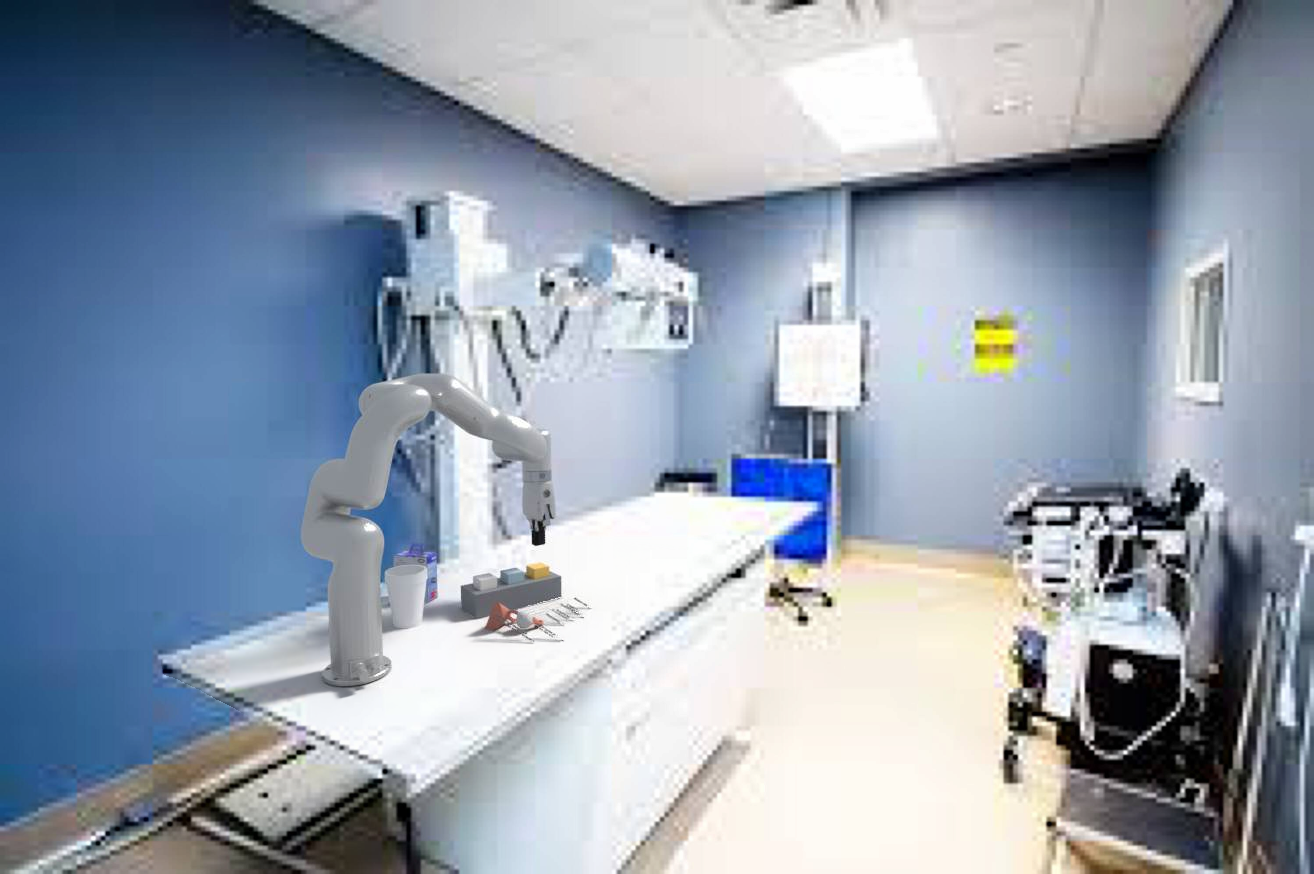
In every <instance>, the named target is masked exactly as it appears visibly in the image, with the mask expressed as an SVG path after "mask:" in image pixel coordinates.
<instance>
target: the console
mask: <svg viewBox="0 0 1314 874" xmlns="http://www.w3.org/2000/svg"><path fill="white" fill-rule="evenodd" d="M558 597H561V598H562V576H561V575H559V574H557V573H555V572H553V571H551V570H549V576H548V577H544V578H539V579H532V578H530V577H528V576H526V572H525V571H524V582H521V583H516V584H511V585H507V584H505V583H503V582H501V581H500V577H497V588H493V589H488V590H484V591H479V590H477V589H475V588H474V587H473V582H472V583H468V584H464V585H463V584H462V585H460V609H461V610H462V611H464V612H465V613H467V614H468V615H469V616H471V617H472V618H474V619H476V620H478V619H482V618H483V619H484V618H487V617H489V616H490V613H491V611H492V608H493V605H494V603H495V604H496V603H497V602H499V603H500V604H501V605H503V606H505V607H506V608H508V609H509V610H514V609H516V610H519V609H518V608H520V609H523V607H524V608H527V607H526V606H528V605H532V606H535V605H534V604H536V605H538V604H537V603H540V602H543V601H548V600H551V599H555V598H558ZM548 602H549V601H548ZM540 604H541V603H540ZM528 607H529V606H528Z"/></svg>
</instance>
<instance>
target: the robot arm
mask: <svg viewBox="0 0 1314 874" xmlns="http://www.w3.org/2000/svg"><path fill="white" fill-rule="evenodd" d="M358 409H359V411H360V413H361V416H360V417H359V418H358V420H357V422H356V423H355V424H354V427H353V429H352V431H351V434H350V437H349V441H348V444H347V448H346V452H345V456H344V458H333V459H330V460H327V461H326V462H323V464H321V465H320V466H319V467H318V468H317V470H316V471H315V473H314V475H313V477H312V478H311V481H310V483H309V484H310V485H309V489H308V494H307V498H306V503H305V508H304V513H303V518H302V523H301V530H300V540H301V541H300V542H301V544H302V547H303V549H304V550H305V551H306V553H308V554H309V555H311V556H312V557H315V558H316V559H320V560H324V561H329V562H330V563H331V562H332V564H333V567H332V569H331V573H330V576H329V578H328V582H327V583H328V584H327V605H328V606H327V607H328V627H329V630H328V632H329V650H330V651H329V652H330V653H329V654H330V655H329V656H330V663H329V664H328V665H327V666H326V667H325V668H323V670H322V679H323V681H324V682H325V683H326V684H328V685H331V686H334V687H335V686H336V687H354V686H355V687H356V686H360V685H365V684H369V683H372V682H375V681H377V680H379V679H381V678H383V677H384V676H386V675H387V674H389V672H390V671H391V670H392V666H393V665H392V660H391V659H390V658H389V657H388V656H386V655H384V650H383V649H384V648H383V646H384V644H383V624H382V623H383V619H382V617H383V616H382V592H381V590H382V589H381V571H382V567H381V566H382V562H383V561H382V560H383V557H384V556H383V554H384V551H385V550H384V549H385V537H384V533H383V530H382V529H381V528H380V526H379V525H378V524H376V523H375V522H374V521H373V520H371V519H368V518H366V517H362V516H358V515H353V514H351V513H350V512H351V509H354V510H365V511H366V510H367V511H369V510H373V509H375V508H377V507H379V506H380V504H382V502H383V501H384V498H385V495H386V493H387V487H388V482H389V478H390V477H389V476H390V471H391V467H392V461H393V457H394V453H395V449H396V446H397V443H398V441H399V440H400V438H401V436H402V435H403V434H404V433H405V431H407V430H408V429H409V428H410V427H412V426H414V425H417V424H418V423H419V422H422V421H423V420H424V419H425V418H426V417H427V416H428V414H429V413H430V412H436V413H438V414H440V415H441V416H443V417H445V419H447V420H449V421H450V422H452V423H453V424H454V425H456V426H457V427H459V428H460V429H462V430H463V431H464V432H466V433H467V434H469V435H472V436H475V437H476V438H480V439H484V440H488V441H491V442H492V443H491V448H492V449H491V450H492V452H493V454H494V455H495V456H496V457H497V458H498V459H501V460H503V461H512V462H521V466H522V467H521V471H522V473H521V474H522V483H523V484H522V495H521V496H522V497H521V498H522V499H521V503H522V505H521V506H522V508H521V509H522V514H523V515H524V516H525V519H526V520H527V521H528V522H529V527H530V530H531V531H530V532H531V545H532V546H535V547H537V546H544V545H545V544H546V530H547V527H550V526H551V520H555V519H556V514H557V513H556V512H557V511H556V510H557V509H556V500H555V491H554V486H553V482H552V480H553V479H552V439H551V438H552V437H551V432H550V431H549V430H548V429H545V428H535V427H534V426H533V425H532V424H530V423H529V422H527V421H525V420H524V419H522V418H520V417H519V416H516V415H515V414H512V413H509V412H507V410H504V409H502V408H500V407H498V406H494V405H493V404H492V403H489V402H488V401H487V400H485V398H483V397H481V395H479V394H478V393H477V392H476V391H474V390H473V389H471V388H470V387H469V386H468V385H467V384H465V382H462V381H461V380H460V379H459V378H457V377H456V376H454V375H451V374H447V373H417V374H413V375H408V376H403V377H399V378H393V379H391V380H385V381H380V382H376V383H372V384H370V385H369V386H367V387H366V388H364V389H363V391H362V392H361V393H360V396H359V399H358Z"/></svg>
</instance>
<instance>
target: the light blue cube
mask: <svg viewBox="0 0 1314 874" xmlns="http://www.w3.org/2000/svg"><path fill="white" fill-rule="evenodd" d="M499 572H500V577H499V578H500V581H501V582H503V583H505V584H507V585H511V584H516V583H521V582H524V572H525V571H524V570H521V569H519V568H517V567H512V568H508V569H502V570H500V571H499Z"/></svg>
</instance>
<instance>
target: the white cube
mask: <svg viewBox="0 0 1314 874" xmlns="http://www.w3.org/2000/svg"><path fill="white" fill-rule="evenodd" d="M497 578H498V577H497V576H496V575H494V574H492V573H490V572H487V573H482V574H477V575H473V576H472V583H473V587H474V588H475V589H477V590H479V591H484V590H488V589H493V588H497Z"/></svg>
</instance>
